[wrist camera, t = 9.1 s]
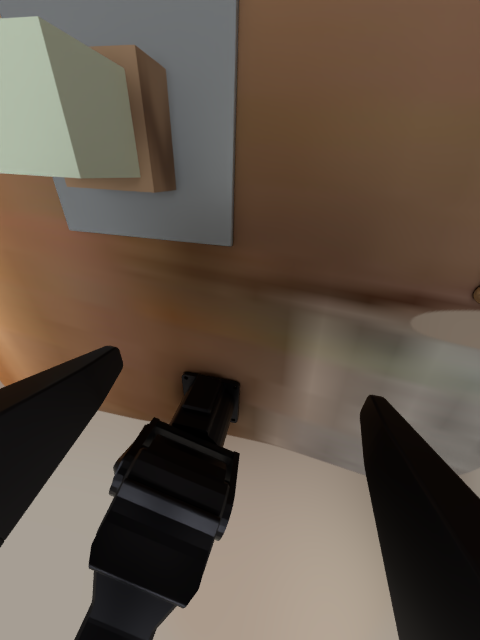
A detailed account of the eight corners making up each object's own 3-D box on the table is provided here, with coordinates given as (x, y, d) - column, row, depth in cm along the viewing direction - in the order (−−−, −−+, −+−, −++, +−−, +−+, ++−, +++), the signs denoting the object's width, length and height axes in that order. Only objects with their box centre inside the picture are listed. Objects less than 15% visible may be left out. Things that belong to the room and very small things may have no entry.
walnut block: (176, 190, 17) (154, 192, 14) (100, 185, 18) (66, 186, 15) (165, 68, 13) (134, 44, 11) (73, 71, 14) (25, 49, 12)
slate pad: (232, 244, 18) (231, 246, 18) (74, 229, 20) (69, 230, 20) (239, -33, 11) (237, -40, 11) (0, -11, 14) (-10, -17, 13)
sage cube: (140, 177, 14) (80, 178, 10) (73, 173, 15) (-6, 172, 11) (124, 68, 11) (38, 16, 8) (45, 69, 12) (-70, 22, 8)
